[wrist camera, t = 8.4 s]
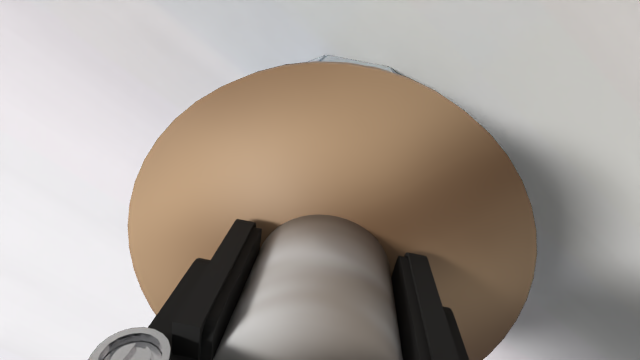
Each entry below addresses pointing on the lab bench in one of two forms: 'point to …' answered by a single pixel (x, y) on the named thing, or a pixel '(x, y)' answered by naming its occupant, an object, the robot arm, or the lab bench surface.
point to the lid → (335, 210)
